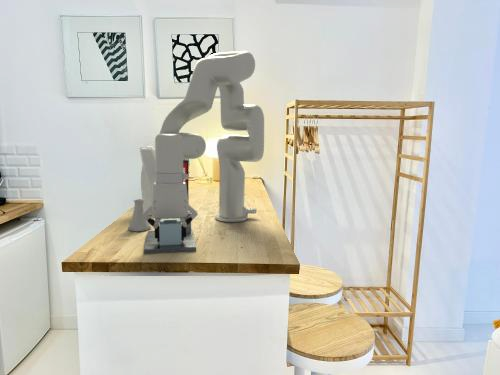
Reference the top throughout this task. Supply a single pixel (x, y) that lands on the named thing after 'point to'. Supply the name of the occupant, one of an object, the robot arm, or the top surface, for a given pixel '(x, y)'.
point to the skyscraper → (148, 174)
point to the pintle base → (155, 246)
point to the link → (170, 231)
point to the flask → (138, 218)
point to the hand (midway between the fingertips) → (170, 239)
